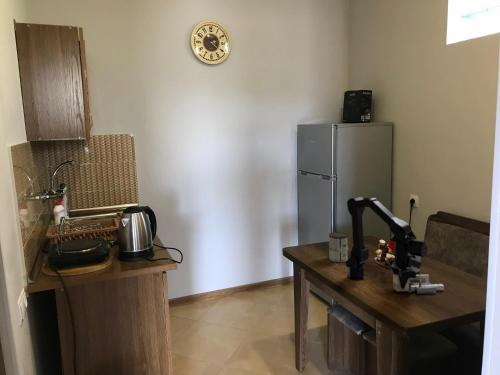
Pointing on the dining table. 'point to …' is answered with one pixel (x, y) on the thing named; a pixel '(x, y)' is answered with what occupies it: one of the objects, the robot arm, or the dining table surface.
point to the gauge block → (397, 284)
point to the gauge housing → (424, 281)
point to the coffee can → (338, 246)
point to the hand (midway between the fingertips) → (400, 286)
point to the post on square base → (413, 287)
